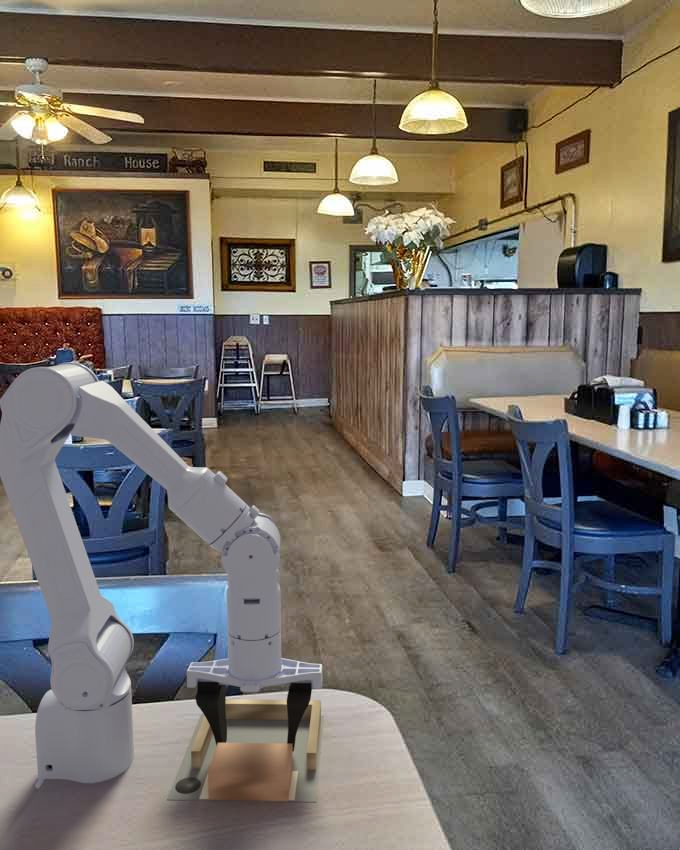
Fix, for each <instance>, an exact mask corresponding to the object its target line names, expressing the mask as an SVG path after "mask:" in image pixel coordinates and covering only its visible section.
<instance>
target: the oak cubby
mask: <svg viewBox="0 0 680 850" xmlns="http://www.w3.org/2000/svg"><path fill="white" fill-rule="evenodd" d="M225 710H226V719H261V720H288V712H287V699H250V698H249V699H247V698H246V699H243V698H241V699H239V698H238V699H237V698H233V699H232V698H231V699H230V698H229V699H228V698H226V702H225ZM321 716H322V700H321V699H319V700H316V699H315V700H314V699H313V700H312V699H310V702H309V705H308V707H307V709H306V711H305V713H304V715H303V717H302V719H301V720H310V728H309V737H308V745H307V770H316V766H317V755H318V744H319V733H320V722H321ZM212 735H213V732H212V730H211V727H210V725H209V723H208V721H207V719H206V717H204V719H203V722H202V724H201V727H200V729H199V732H198V735H197V737H196V740H195V742H194V745H193V747H192V750H191V766H192V768H197V769H201V767H202V764H203V761H204V758H205V755H206V752H207V750H208V747H209V744H210V741H211V738H212Z"/></svg>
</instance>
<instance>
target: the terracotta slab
mask: <svg viewBox="0 0 680 850" xmlns="http://www.w3.org/2000/svg"><path fill="white" fill-rule="evenodd" d="M292 771H293V753H292V744H284V743H217V746H216V749H215V752H214V755H213V758H212V761H211V764H210V767H209V770H208V797H209V800H251V801H250V802H257V801H288V798H289V792H290V785H291V778H292Z"/></svg>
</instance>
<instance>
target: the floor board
mask: <svg viewBox="0 0 680 850" xmlns="http://www.w3.org/2000/svg"><path fill="white" fill-rule="evenodd" d="M204 717H205V715H204V714H203V713H202V714H200V716H199V719H198V720H197V721H198V722H197V724H196V727H195V729H194V731H193V733H192V737H191V739H190V742H189V744H188V747H187V749H186V752H185V753H184V756H183V758H182V761H181V764H180V765H179V769H178V772H177V774H176V776H175V779H174V781H173V784H172V785H171V788H170V791H169V794H168V796H167V799H166V801H196V802H197V801H203V802H205V801H206V802H210V801H211V802H252V801H251V800H209V797H208V770H209V767H210V764H211V761H212V758H213V755H214V752H215V749H216V742H215V738H214V735H212V738H211V741H210V744H209V747H208V750H207V752H206V755H205V758H204V761H203V764H202V767H201V769H197V768H192V766H191V750H192V747H193V745H194V742H195V740H196V737H197V735H198V732H199V729H200V727H201V724H202V722H203V719H204ZM226 723H227V741H226V743H284V744H287V738H288V720H261V719H226ZM323 726H324V715H321V722H320V733H319V744H318V755H317V766H316V770H307V745H308V737H309V728H310V720H301V721H300V724H299V727H298V730H297V733H296V739H295V747H294V751H293V752H292V753H293V771H292V778H291V785H290V792H289V798H288V801H256V802H259V803H261V802H264V803H267V802H268V803H271V802H272V803H274V802H275V803H278V802H279V803H317V799H318V798H317V796H318V787H319V785H318V784H319V774H320V763H321V752H322V751H321V750H322V740H323V729H324V728H323Z"/></svg>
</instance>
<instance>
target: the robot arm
mask: <svg viewBox="0 0 680 850" xmlns="http://www.w3.org/2000/svg"><path fill="white" fill-rule="evenodd" d="M0 410H1V412H2V413H1V418H0V479H1V483H2V485H3V488H4V491H5V492H6V496H7V499H8V502H9V505H10V508H11V509H12V512H13V513H12V514H13V515H14V516H13V517H14V519H15V521H16V524H17V526H18V529H19V532H20V533H19V534H20V535H21V538H22V541H23V545H24V546H25V550H26V551H27V555H28V557H29V560H30V564H31V565H32V566H31V567H32V568H33V571H34V574H35V577H36V581H37V583H38V585H39V587H40V591H41V593H42V596H43V599H44V602H45V606H46V608H47V610H48V613H49V617H50V619H51V620H50V621H51V622H50V623H51V624H50V630H49V635H48V636H49V638H48V643H47V644H48V645H47V652H48V655H49V657H50V661H51V672H50V679H49V681H50V688H51V689H49V690H47V691H46V692H45V694H44V695H43V697H42V698H41V700H40V703H39V705H38V708H37V712H36V717H35V725H34V727H35V728H34V735H35V748H36V749H35V751H36V761H37V762H36V765H37V778H38V779H37V782H36V783H35V784H34V786H35V789H36V790H39V789H40V787H41V786H42V784H43V783H44V781H45V780H65V781H67V780H68V781H73V782H75V783H81V784H96V783H97V784H98V783H101V782H105V781H109V780H111V779H114V778H116V777H117V776H120V775H121V774H123V773H124V772H126V771H127V770H128V769H129V768H130V767H131V766H132V764H133V762H134V760H135V742H134V725H133V724H134V723H133V722H134V721H133V703H132V702H133V700H132V699H133V698H132V681H131V679H130V677H129V674H128V672H127V670H126V665H125V664H126V662H127V661H128V660H129V659H130V657H131V656H132V653H133V651H134V646H135V645H134V644H135V641H134V635H133V633H132V630H131V629H130V627H129V625H127V624H126V623H125V622H124V621H123V620H122V619H121V618H120V617H119V615H118V614H117V612H116V610H115V606H114V603H113V602H111V601H110V600H108V599H106V598H105V596H103V595H102V594H101V591H100V588H99V585H98V582H97V579H96V577H95V574H94V570H93V568H92V565H91V562H90V559H89V556H88V553H87V551H86V547H85V544H84V542H83V539H82V536H81V533H80V530H79V527H78V525H77V521H76V518H75V515H74V513H73V510H72V507H71V504H70V500H69V499H68V495H67V492H66V489H65V487H64V484H63V481H62V477H61V475H60V473H59V469H58V466H57V463H56V457H57V456H58V455H59V452H60V451H61V449H62V447H63V446H64V445H65V443H66V441H67V440H68V438H69V437H70V436H72V437H81V438H89V439H97V440H99V439H100V440H105V441H107V442H108V443H110V444H111V445H112V446H113V447H115V448H116V449H117V450H118V451H119V452H121V453H122V454H123V455H125V457H127V458H128V459H129V460H130V461H132V462H133V463H134V464H135V465H136V466H138V467H139V468H140V469H141V470H142V471H144V473H146V474H147V475H148V476H149V477H150V478H152V479H153V480H154V481H155V482H157V483H158V484H159V485H160V486H161V487H163V488H164V489H165V490H166V494H167V505H168V509H169V510H170V511H171V512H172V513H174V515H176V517H178V518H179V519H180V520H181V521H182V522H184V524H185V525H186V526H187V527H189V529H191V530H192V531H193V532H194V533H195V534H197V536H199V537H200V539H202V540H203V541H204V542H205V543H206V544H207V545H208V546H209V547H210V548H212V549H213V550H216V551H218V552H219V553H221V554H222V556H221V557H220V559H221V564H222V567H223V569H224V571H225V573H226V574H227V576H228V577H227V578H228V579H227V581H228V582H227V585H228V587H227V588H226V614H227V616H226V621H227V658H222V659H217V660H215V659H214V660H209V661H199V662H196V661H195V662H190V663H189V666H188V668H187V669H186V687H187V688H191V689H192V688H193V689H194V688H196V693H195V703H196V705H197V707H198V708H199V709H200V710H201V713H202V714H204V715H205V717H206V719H207V721H208V723H209V725H210V727H211V730H212V732H213V735H214V738H215V742H216V746H217V743H226V741H227V723H226V710H225V702H226V699H227V698H226V694H227V693H226V692H227V686H234V687H238V688H239V690H240V692H242V693H258V692H260V690H261V689H262V688H267V687H272V686H278V687H280V686H281V687H282V686H283V687H284V686H285V687H286V686H287V687H288V692H287V696H286V700H287V712H288V738H287V744H292V752H293V751H294V747H295V739H296V733H297V730H298V727H299V724H300V721H301V719H302V717H303V715H304V713H305V711H306V709H307V707H308V705H309V702H310V700H312V698H311V697H312V690H323V689H322V687H323V664H322V663H312V662H311V663H309V662H304V661H299V660H295V659H288V658H283V657H282V613H281V612H282V610H281V609H282V608H281V607H282V606H281V605H282V604H281V601H282V599H281V587H280V583H279V581H280V570H279V566H280V562H281V555H280V550H281V535H280V531H279V529H278V527H277V525H276V524H275V522H274V521H273V520H272V517H271V516H270V515H269V514H267V513H264V512H260V509H259V508H257V506H256V505H252V506H251V507H250V506H249V505H248V504H247V503H246V502H245V501H244V500H243V499H242V498H240V496H238V494H237V493H235V492H234V490H233V489H231V488H230V487H229V486H228V485H227V481H228V477H227V475H225V474H224V473H223V472H222V471H220V470H219V471H217V472H216V473H214V472H213V471H212V470H211V469H209V467H203V466H202V467H201V466H200V467H196V466H195V467H194V466H189V465H188V464H187V463H186V462H185V461H184V459H182V457H180V455H178V453H176V451H174V450H173V448H171V446H170V445H169V444H168V443H166V441H165V440H164V439H163V438H162V437H161V436H159V434H158V433H157V432H156V430H154V429H153V428H152V427H151V426H150V425H149V424H148V423H147V422H146V421H145V420H144V419H143V418H142V417H141V416H140V415H139V414H138V412H136V411H135V410H134V409H133V408H132V407H131V406H130V405H129V404H128V403H127V402H126V400H125V399H124V398H123V397H121V394H119V393H118V392H117V391H116V390H115V389H114V387H113V386H112V385H110V384H109V383H107V382H106V381H104V380H99V378H98V376H97V375H96V374H95V372H93V370H92V369H90V368H89V367H87V366H85V364H81V363H78V362H69V361H68V362H62V363H59V364H57V365H52V366H39V367H31V368H29V369H26V370H24V371H22V372H21V373H20V374H19V375H18V376H16V378H15V379H14V380H13V381H12V382H11V384H10V385H9V387H8V388H7V389H6V391H5V392H4V394H3V395H2V396H1V397H0Z"/></svg>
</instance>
